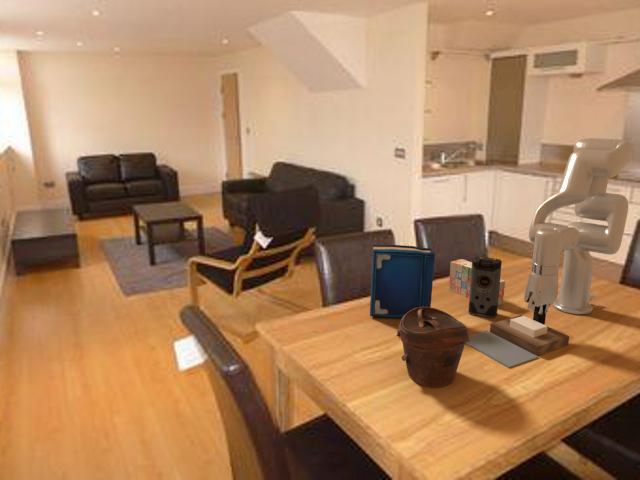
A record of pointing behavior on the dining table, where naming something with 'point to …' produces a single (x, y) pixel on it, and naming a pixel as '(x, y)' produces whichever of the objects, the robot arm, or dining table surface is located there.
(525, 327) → the tile
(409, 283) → the book
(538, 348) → the plate
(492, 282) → the electronic device
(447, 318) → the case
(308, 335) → the dining table surface
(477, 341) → the mat
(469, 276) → the stack of blocks
